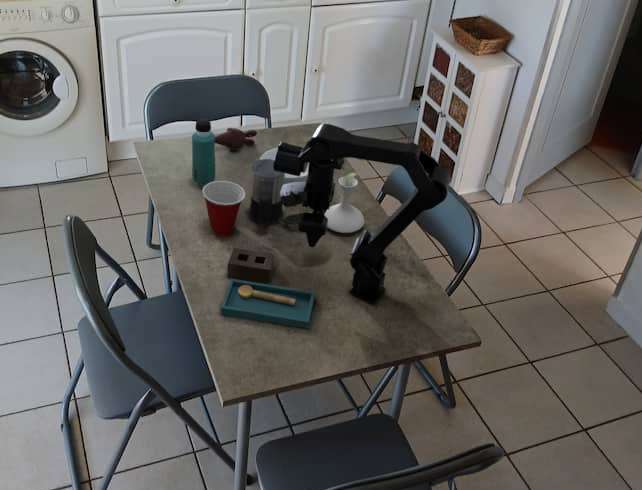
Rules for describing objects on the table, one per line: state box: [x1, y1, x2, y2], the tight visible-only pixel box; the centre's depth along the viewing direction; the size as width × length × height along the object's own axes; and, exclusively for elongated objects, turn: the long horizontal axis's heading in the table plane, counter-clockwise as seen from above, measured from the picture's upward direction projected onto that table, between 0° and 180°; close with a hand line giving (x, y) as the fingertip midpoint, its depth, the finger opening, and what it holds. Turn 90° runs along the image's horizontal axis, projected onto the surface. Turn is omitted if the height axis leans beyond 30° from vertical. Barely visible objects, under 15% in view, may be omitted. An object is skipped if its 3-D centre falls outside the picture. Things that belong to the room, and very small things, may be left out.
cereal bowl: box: [259, 146, 309, 184], centre depth 211 cm, size 17×17×7 cm
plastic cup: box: [201, 180, 246, 236], centre depth 190 cm, size 11×11×12 cm
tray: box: [220, 278, 316, 330], centre depth 171 cm, size 20×10×2 cm, turn 82°
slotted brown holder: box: [227, 247, 276, 285], centre depth 179 cm, size 10×6×4 cm, turn 82°
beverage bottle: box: [191, 118, 216, 186], centre depth 203 cm, size 6×7×20 cm
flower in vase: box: [324, 158, 365, 234], centre depth 193 cm, size 13×11×25 cm
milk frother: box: [248, 159, 304, 226], centre depth 195 cm, size 14×16×15 cm
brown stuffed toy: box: [215, 127, 258, 152], centre depth 224 cm, size 7×7×15 cm
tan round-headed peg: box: [238, 285, 296, 306], centre depth 172 cm, size 3×2×14 cm
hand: (314, 234), depth 173 cm, fingers open, 9 cm apart
